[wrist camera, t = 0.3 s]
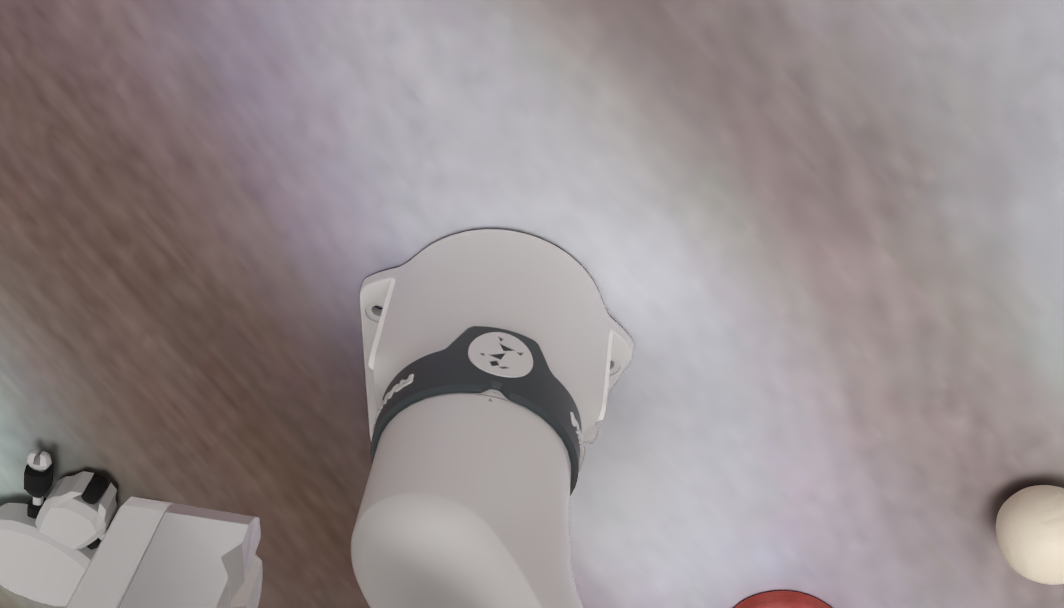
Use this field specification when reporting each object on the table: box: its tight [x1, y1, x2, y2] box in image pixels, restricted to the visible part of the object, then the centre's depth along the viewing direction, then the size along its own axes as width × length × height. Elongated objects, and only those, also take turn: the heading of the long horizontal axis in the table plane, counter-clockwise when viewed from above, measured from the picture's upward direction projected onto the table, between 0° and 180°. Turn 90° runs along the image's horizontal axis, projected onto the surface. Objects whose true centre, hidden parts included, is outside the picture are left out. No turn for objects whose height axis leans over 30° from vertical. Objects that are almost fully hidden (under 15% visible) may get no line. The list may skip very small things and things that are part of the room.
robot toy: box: [0, 450, 117, 606], centre depth 82 cm, size 12×4×15 cm
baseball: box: [996, 485, 1064, 585], centre depth 71 cm, size 7×7×7 cm
